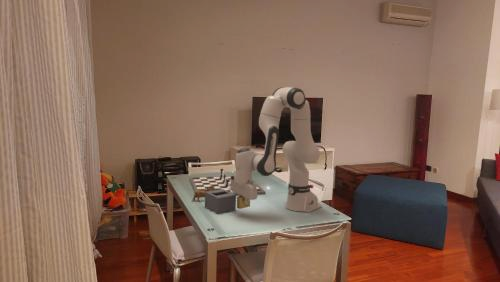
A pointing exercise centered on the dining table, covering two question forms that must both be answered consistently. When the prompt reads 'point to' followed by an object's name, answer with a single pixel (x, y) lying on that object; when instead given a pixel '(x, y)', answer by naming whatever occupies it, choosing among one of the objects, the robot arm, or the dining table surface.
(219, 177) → the chess set
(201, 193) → the lion figurine
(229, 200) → the money box
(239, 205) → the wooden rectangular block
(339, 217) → the dining table surface
